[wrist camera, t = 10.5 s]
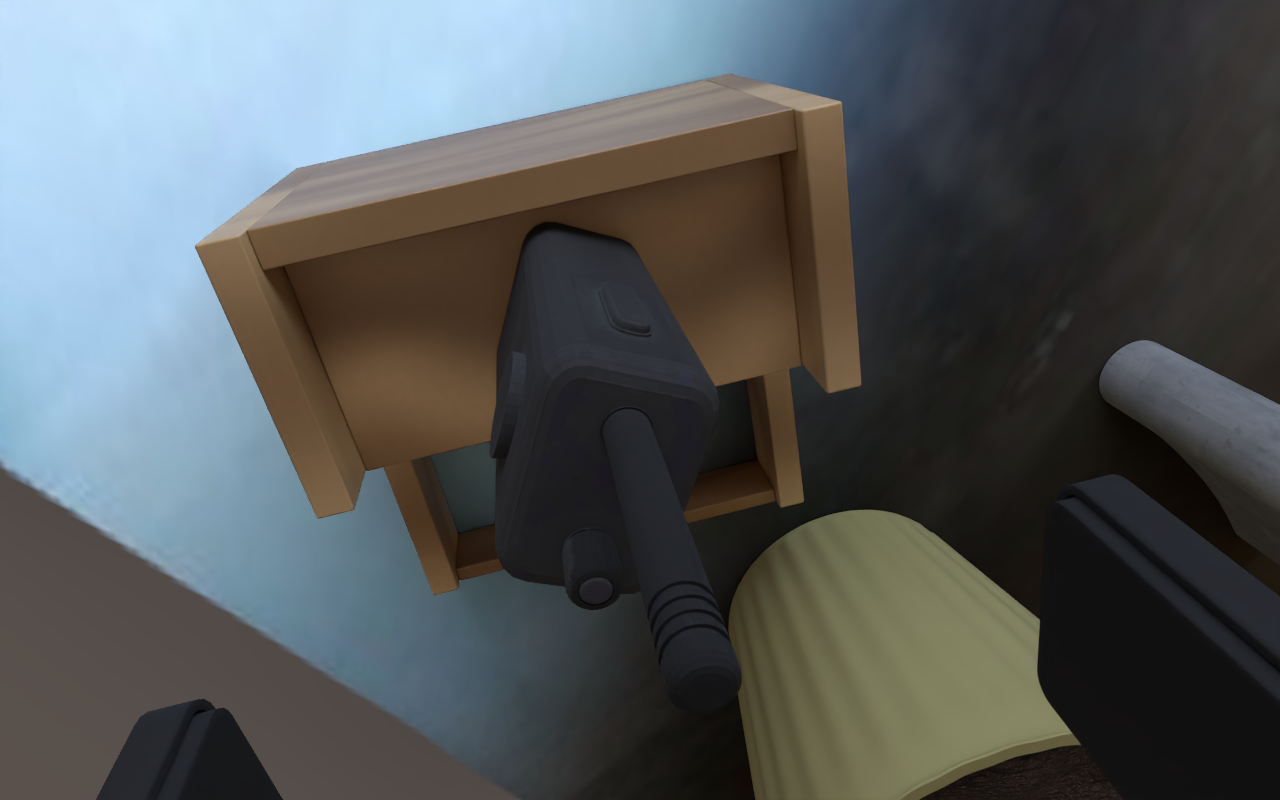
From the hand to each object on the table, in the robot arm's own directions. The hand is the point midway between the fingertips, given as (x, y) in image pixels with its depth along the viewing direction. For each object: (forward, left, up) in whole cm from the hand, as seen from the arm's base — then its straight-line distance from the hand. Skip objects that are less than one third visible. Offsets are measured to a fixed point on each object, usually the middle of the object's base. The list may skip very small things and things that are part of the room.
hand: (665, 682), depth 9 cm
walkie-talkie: (0, 0, -14) cm, 14 cm away
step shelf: (+4, 0, -22) cm, 22 cm away
